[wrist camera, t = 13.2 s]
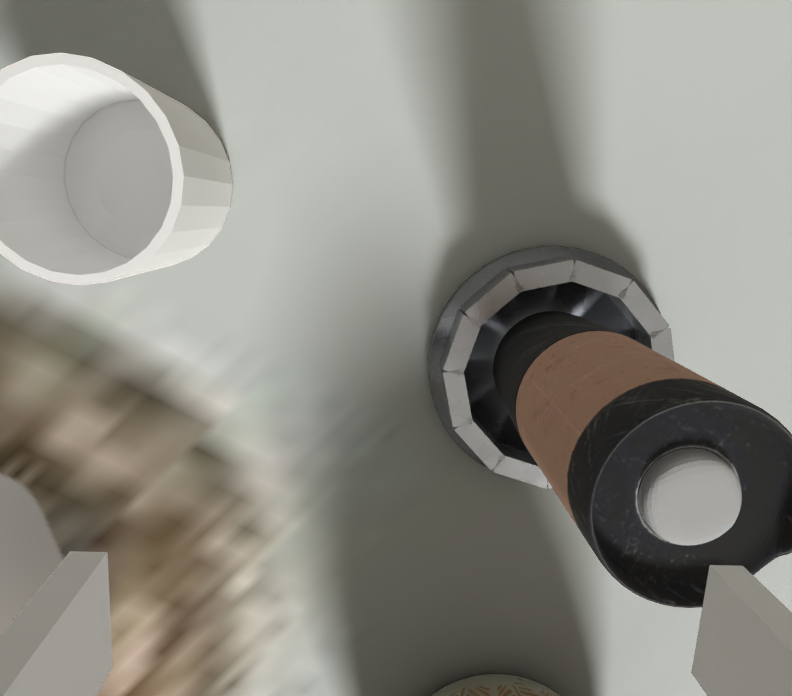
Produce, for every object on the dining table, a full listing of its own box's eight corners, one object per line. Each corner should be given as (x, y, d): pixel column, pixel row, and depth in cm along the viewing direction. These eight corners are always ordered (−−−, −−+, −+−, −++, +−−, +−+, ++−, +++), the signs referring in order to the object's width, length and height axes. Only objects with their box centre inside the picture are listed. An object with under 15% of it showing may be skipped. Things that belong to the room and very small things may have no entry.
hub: (379, 354, 42) (379, 367, 38) (565, 194, 40) (582, 192, 37) (528, 519, 44) (540, 544, 41) (709, 375, 43) (738, 389, 39)
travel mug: (491, 304, 40) (594, 392, 21) (615, 306, 40) (834, 396, 21) (484, 424, 42) (576, 612, 22) (604, 426, 42) (800, 613, 22)
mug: (205, 75, 38) (143, 26, 28) (254, 244, 40) (211, 256, 30) (-2, 128, 39) (-137, 99, 29) (56, 294, 41) (-51, 321, 31)
